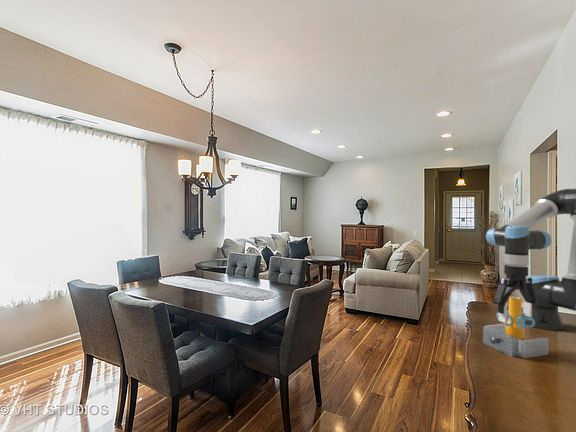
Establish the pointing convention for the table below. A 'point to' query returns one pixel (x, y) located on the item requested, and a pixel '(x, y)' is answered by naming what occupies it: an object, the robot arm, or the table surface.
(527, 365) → the table surface
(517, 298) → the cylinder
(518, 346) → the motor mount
